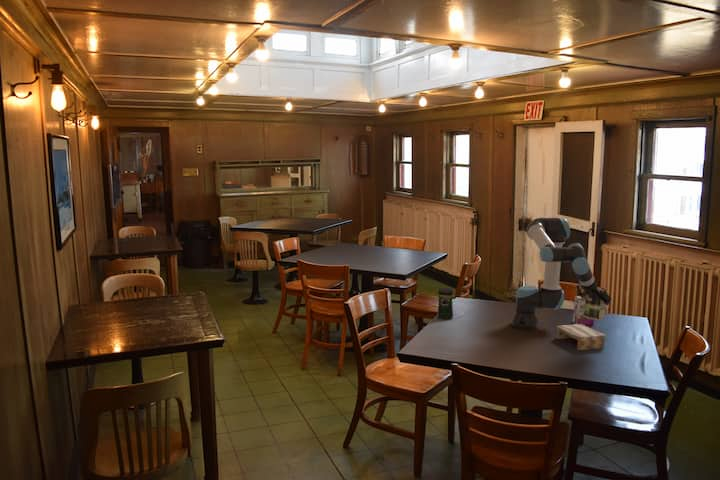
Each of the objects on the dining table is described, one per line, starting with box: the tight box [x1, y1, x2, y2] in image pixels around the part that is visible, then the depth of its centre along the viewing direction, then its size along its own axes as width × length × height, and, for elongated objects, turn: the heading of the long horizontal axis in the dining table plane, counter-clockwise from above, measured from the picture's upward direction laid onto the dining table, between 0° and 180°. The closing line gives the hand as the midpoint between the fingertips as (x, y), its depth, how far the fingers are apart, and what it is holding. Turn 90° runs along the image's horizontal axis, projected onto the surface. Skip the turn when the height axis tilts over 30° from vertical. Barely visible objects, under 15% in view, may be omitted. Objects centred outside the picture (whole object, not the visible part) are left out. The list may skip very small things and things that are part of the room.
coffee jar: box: [436, 287, 455, 320], centre depth 355 cm, size 10×8×19 cm
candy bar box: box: [572, 295, 595, 326], centre depth 347 cm, size 11×5×16 cm, turn 84°
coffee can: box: [584, 291, 608, 321], centre depth 306 cm, size 10×10×14 cm
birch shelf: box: [556, 323, 606, 351], centre depth 314 cm, size 16×20×7 cm
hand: (597, 305), depth 308 cm, fingers closed on coffee can, 10 cm apart
